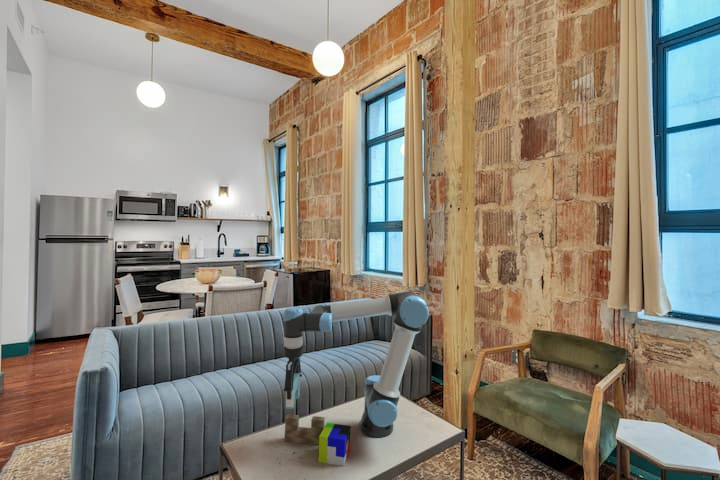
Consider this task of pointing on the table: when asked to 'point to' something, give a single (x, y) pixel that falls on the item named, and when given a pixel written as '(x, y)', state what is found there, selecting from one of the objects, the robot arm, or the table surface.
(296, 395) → the notched teal block
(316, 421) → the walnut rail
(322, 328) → the robot arm
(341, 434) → the puzzle toy
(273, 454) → the table surface
